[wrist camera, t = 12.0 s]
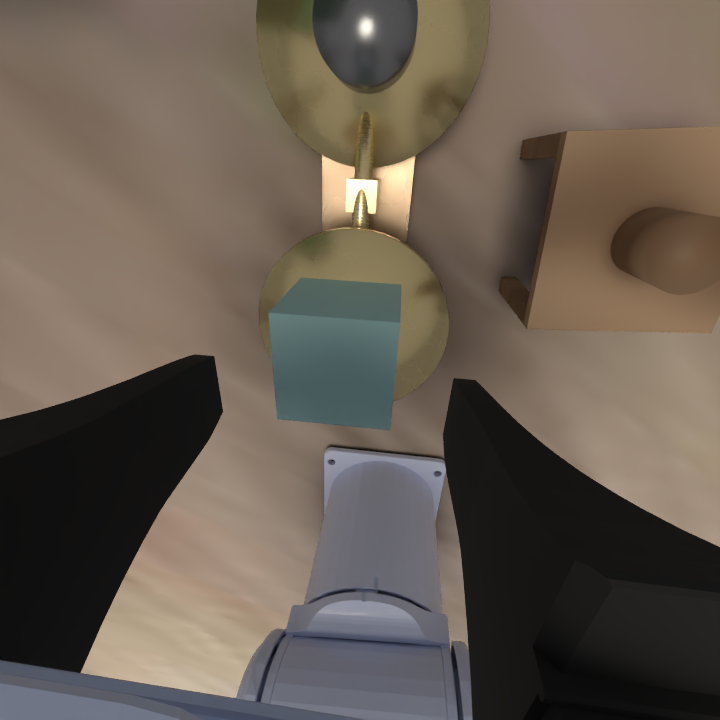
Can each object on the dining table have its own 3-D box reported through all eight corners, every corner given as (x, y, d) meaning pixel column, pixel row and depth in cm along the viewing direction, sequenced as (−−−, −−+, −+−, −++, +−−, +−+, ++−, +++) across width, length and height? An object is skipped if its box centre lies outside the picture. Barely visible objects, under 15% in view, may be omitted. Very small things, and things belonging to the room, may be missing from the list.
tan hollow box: (638, 292, 18) (766, 363, 12) (498, 291, 19) (547, 357, 12) (692, 135, 15) (905, 114, 9) (523, 140, 16) (604, 123, 9)
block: (393, 373, 16) (390, 430, 13) (304, 365, 17) (277, 418, 13) (401, 284, 14) (400, 322, 11) (301, 277, 15) (268, 312, 11)
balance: (429, 367, 21) (434, 415, 17) (292, 355, 22) (266, 399, 18) (497, -89, 13) (541, -207, 9) (270, -89, 13) (211, -200, 9)
